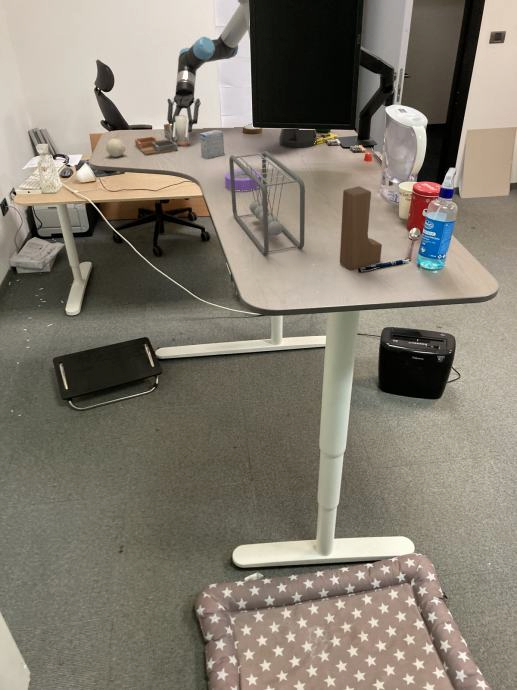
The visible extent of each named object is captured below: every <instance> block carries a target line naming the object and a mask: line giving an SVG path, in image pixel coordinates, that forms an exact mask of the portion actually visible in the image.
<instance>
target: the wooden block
mask: <svg viewBox="0 0 517 690" xmlns="http://www.w3.org/2000/svg"><path fill="white" fill-rule="evenodd" d="M342 192H343V193H342V208H341V209H342V210H341V212H342V213H341V230H340V231H341V232H340V248H339V264H340V265H341V266H343V267H344V268H346V269H348V270H350V271H353V270H355V269H358V268H359V269H360V268H362V267H367V266H369V265H372V264H374V263H378V262H380V261H381V258H382V247H383V246H382V243H380V242H379V241H377V240H375V239H373V238H370V237H369V234H368V233H369V223H370V209H371V199H372V192H371V190H368V189H366V188H364V187H362V186H355V187H350V188H345V189H343V191H342Z"/></svg>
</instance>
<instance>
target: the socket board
mask: <svg viewBox="0 0 517 690" xmlns="http://www.w3.org/2000/svg"><path fill="white" fill-rule="evenodd" d="M134 142H135V143H134V144H135V147H138V148H139V149H140V150H141V151H142V152H143V153H144V154H145V155H147V156H152V155H153V154H154V155H159V154H160V153H161V154H165V153H166V152H167V153H172V151H174V152H178V145H177V142H174V141H172V140H169V139H167V138H166V139H159V140H158V139H157V138H156V137H155V136H149V137H147V136H146V137H142V138H135V139H134ZM138 148H137V149H138ZM139 149H138V150H139ZM140 150H139V151H140ZM141 151H140V152H141ZM143 153H142V154H143ZM144 154H143V155H144ZM145 155H144V156H145ZM154 155H153V156H154Z"/></svg>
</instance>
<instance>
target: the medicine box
mask: <svg viewBox="0 0 517 690" xmlns="http://www.w3.org/2000/svg"><path fill="white" fill-rule="evenodd" d="M199 141H200V152H201V153H200V154H201V157H202V158H204V159H206V158H207V160H209V159H213V158H216V156H217V157H220V155H221V156H223V155H224V156H225V146H224V145H225V144H224V132H223V131H221V130H220V129H219V130H218V129H215V130H210V131H205V132H201V133H199ZM212 157H213V158H212Z"/></svg>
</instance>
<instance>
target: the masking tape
mask: <svg viewBox="0 0 517 690" xmlns="http://www.w3.org/2000/svg"><path fill="white" fill-rule="evenodd" d="M248 170H249V171H250V172H251V169H248ZM255 171H256V172H258V173H259V174H260V175H261V172H259V171H258V170H255ZM251 173H252V174H253V175H254V176H257V178H258V179H259V180H260V177H259V176H258V175H257V174H255V172H254V171H253V170H252V172H251ZM224 179H225V180H224V183H225V188H226V187H227V188H228V189H227V188H226V189H227V190H229V189H231V180H230V171H228V172H226V173H225V176H224ZM234 179H235V190H240V191H242V190H243V192H245V191H244V190H251V189H255V187H256V188H257V187H258V185H257V184H256V183H255V185H254V181H253V180H252V179H251V178H249V176H248V175H247V174H246V173H245V172H244V171H243V170H242V169H234ZM250 180H251V183H250ZM251 184H252V187H251ZM255 190H256V189H255ZM251 191H252V190H251Z"/></svg>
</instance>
